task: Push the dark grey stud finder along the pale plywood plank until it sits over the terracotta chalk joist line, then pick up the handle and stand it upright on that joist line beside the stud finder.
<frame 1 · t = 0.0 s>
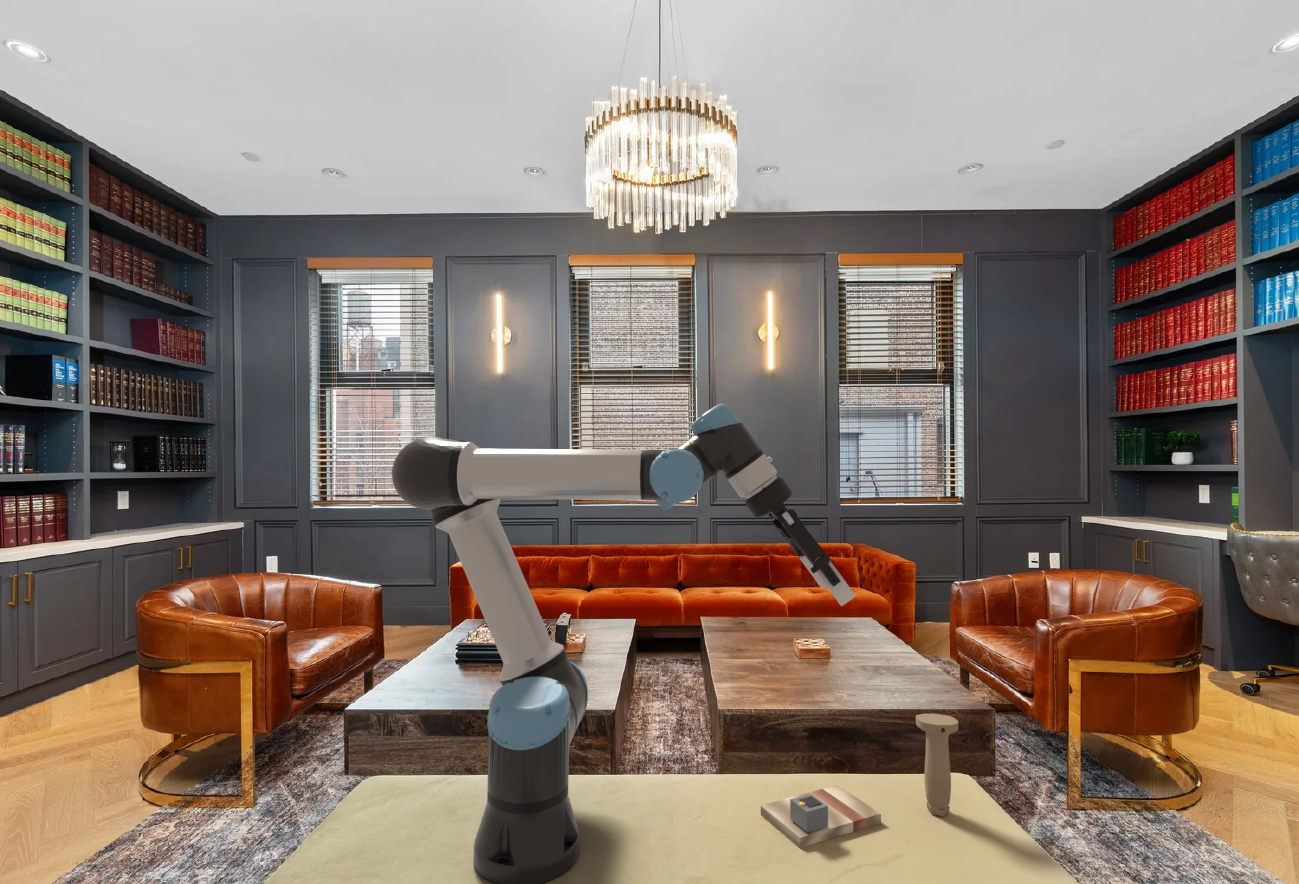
hand: (837, 592, 104), 36 cm above the table, tool tilted 35°, fingers open, 13 cm apart
handle: (938, 813, 104), on the table
finder: (808, 812, 97), point 3 cm above the table, slide at 0.0 cm
plank: (820, 818, 101), on the table
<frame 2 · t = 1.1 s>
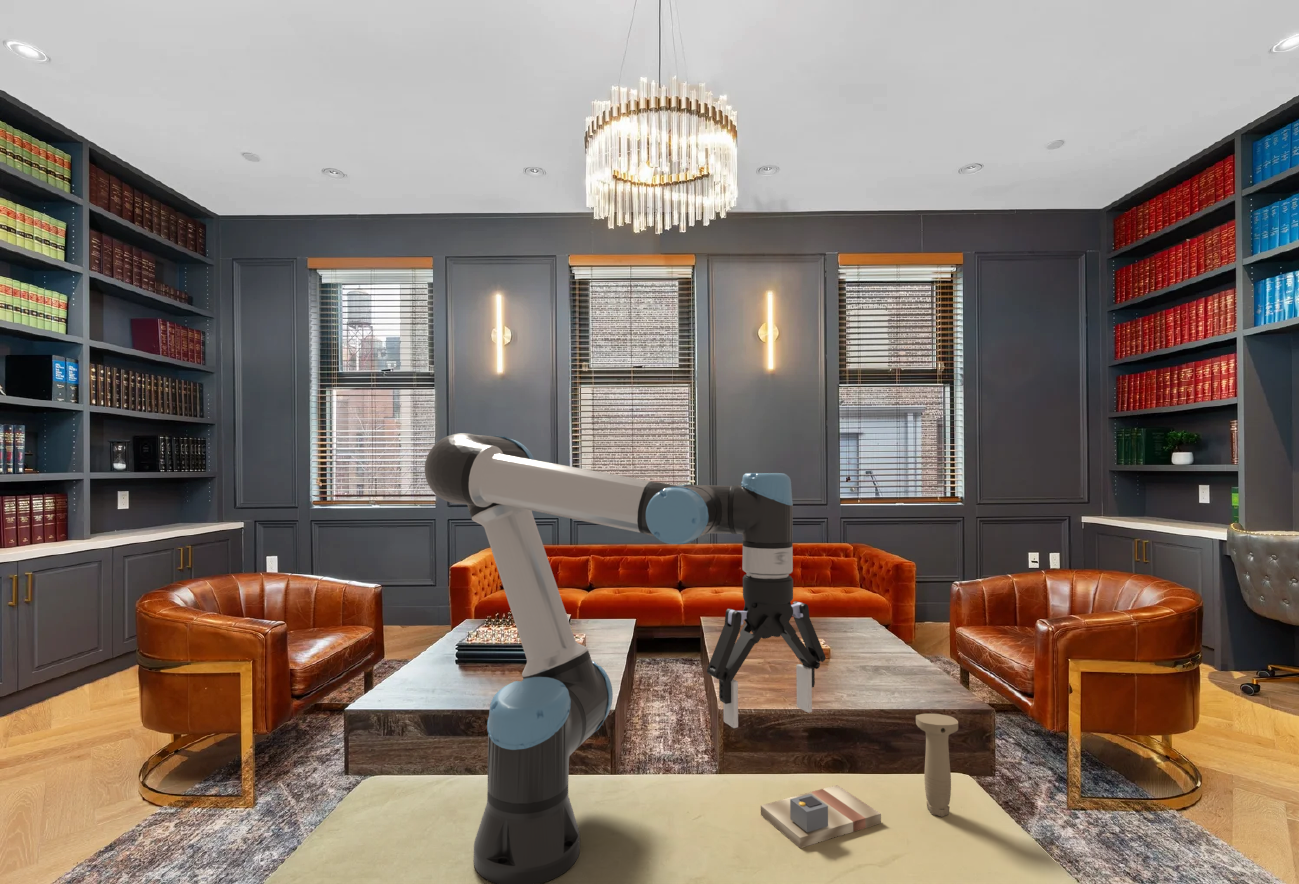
hand: (768, 716, 95), 19 cm above the table, tool pointing down, fingers open, 13 cm apart
nothing on the table moved.
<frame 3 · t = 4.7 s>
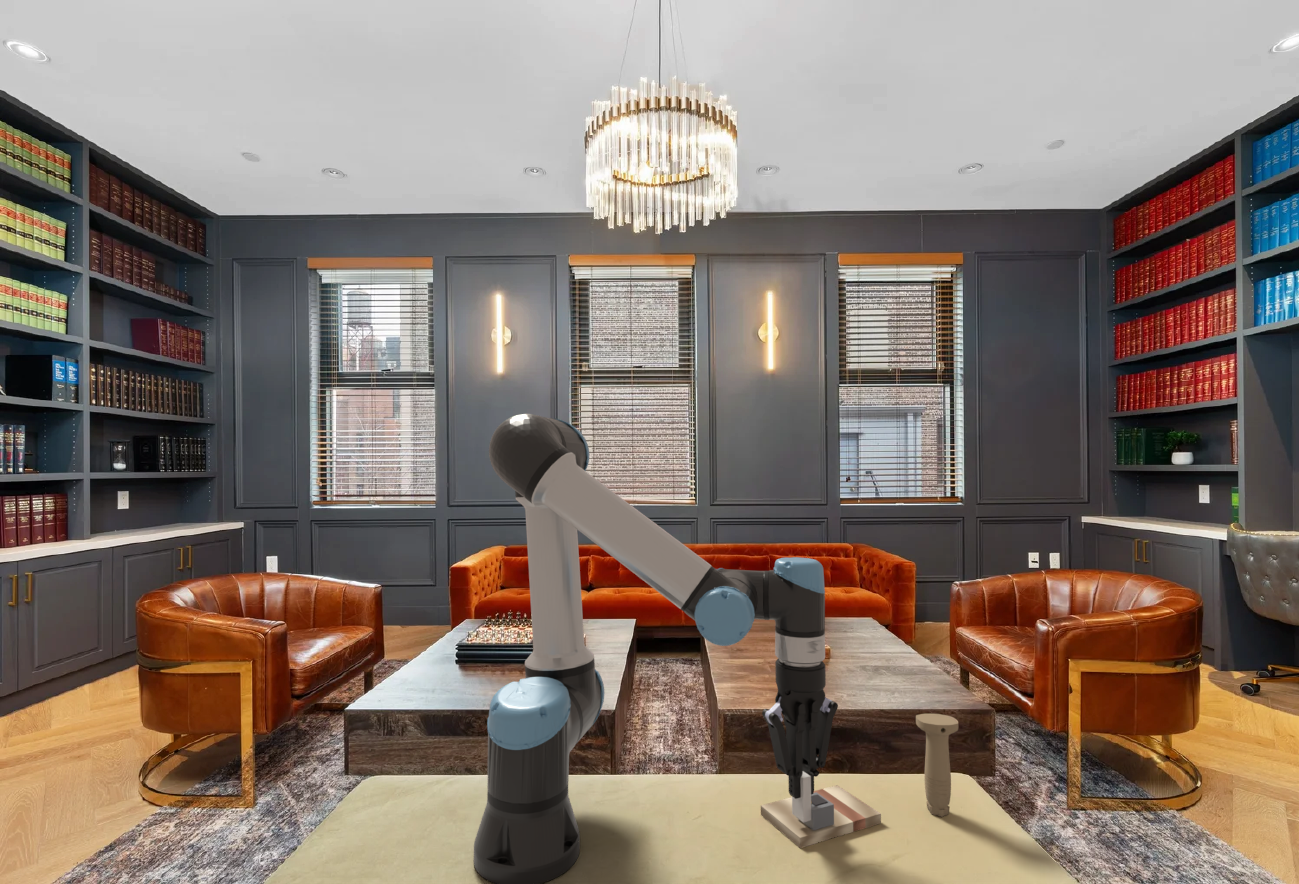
hand: (801, 816, 96), 3 cm above the table, tool pointing down, fingers closed
finder: (814, 810, 98), point 3 cm above the table, slide at 1.2 cm, touching gripper
everything else where it was.
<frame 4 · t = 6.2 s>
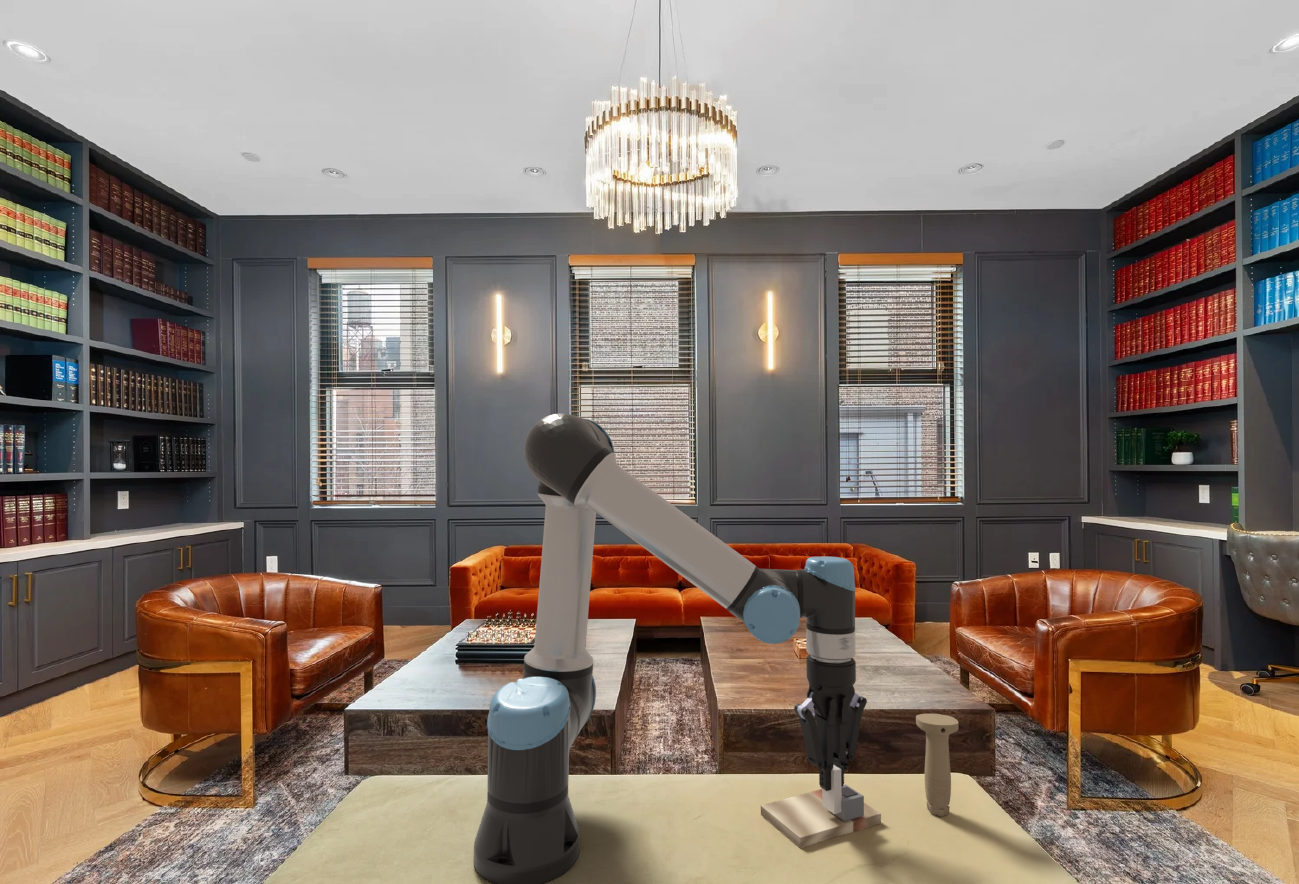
hand: (831, 808, 99), 3 cm above the table, tool pointing down, fingers closed
finder: (845, 801, 100), point 3 cm above the table, slide at 7.2 cm, touching gripper
everything else where it was.
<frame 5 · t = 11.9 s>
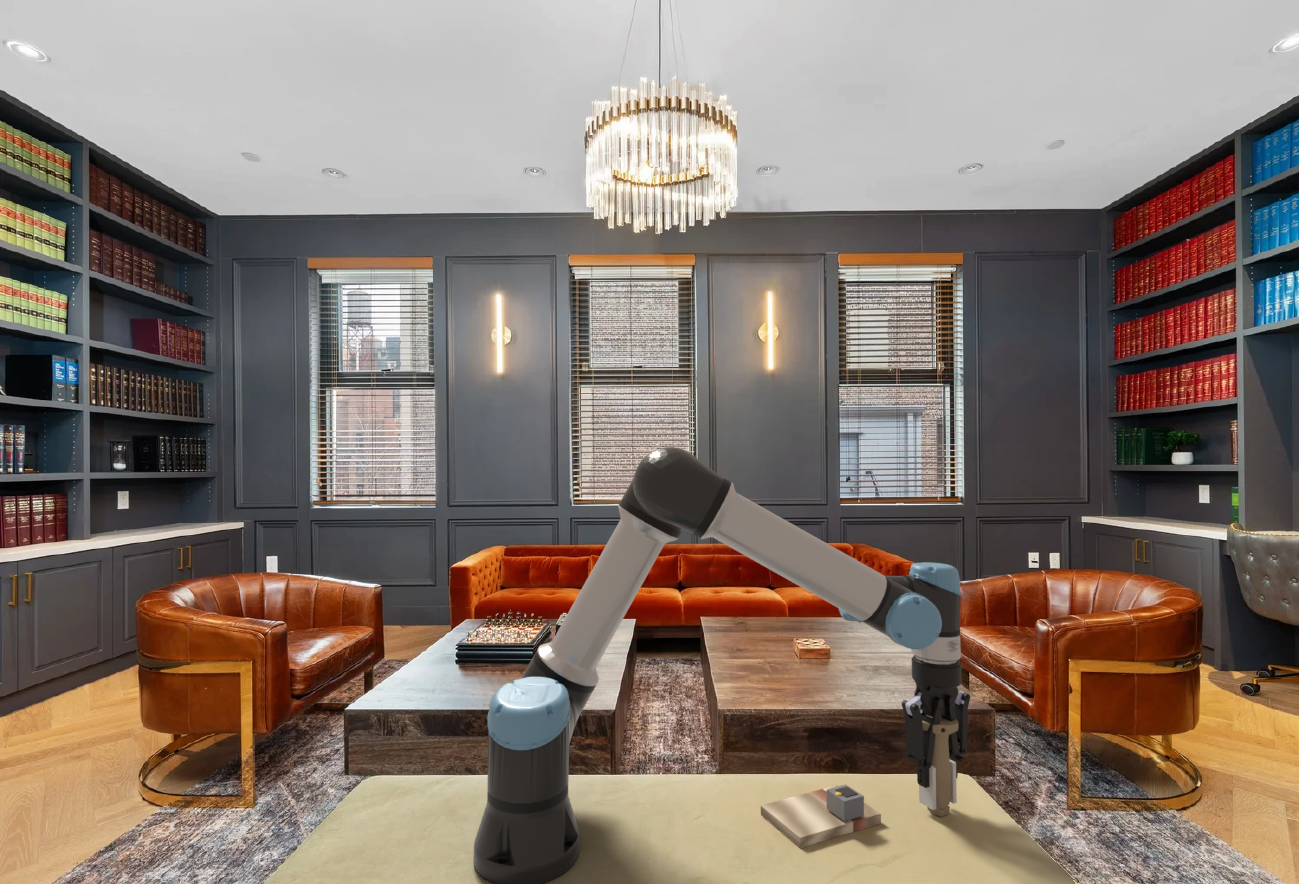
hand: (937, 801, 104), 2 cm above the table, tool pointing down, fingers closed on handle, 4 cm apart
handle: (938, 813, 104), on the table, touching gripper
finder: (845, 801, 100), point 3 cm above the table, slide at 7.2 cm
when the fingers open (5 cm above the table, at t = 18.1 s): handle drops 2 cm, resting on plank.
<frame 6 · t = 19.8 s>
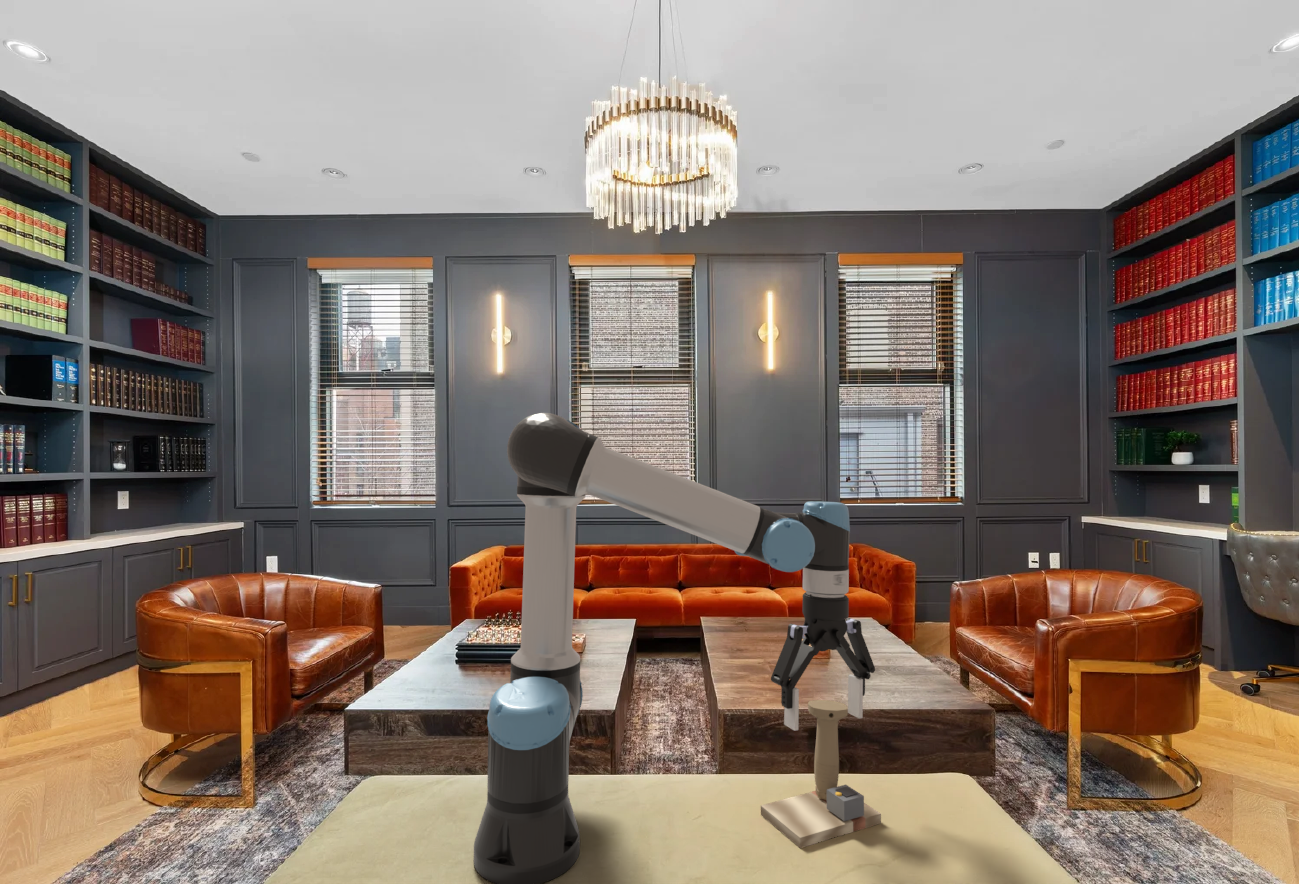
hand: (824, 721, 106), 14 cm above the table, tool pointing down, fingers open, 13 cm apart
handle: (825, 798, 105), point 1 cm above the table, touching plank
everything else where it was.
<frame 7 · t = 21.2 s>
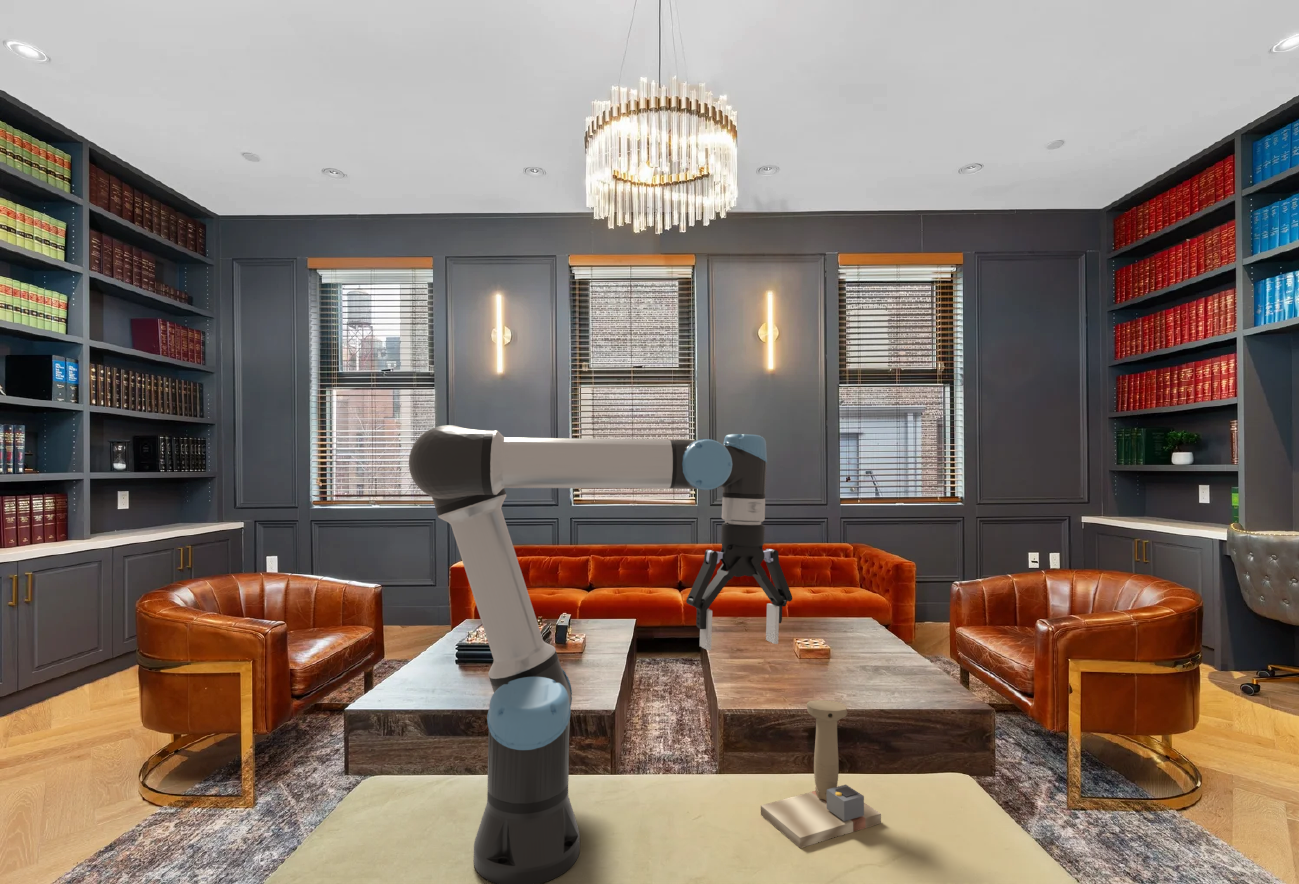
hand: (739, 645, 110), 25 cm above the table, tool pointing down, fingers open, 13 cm apart
nothing on the table moved.
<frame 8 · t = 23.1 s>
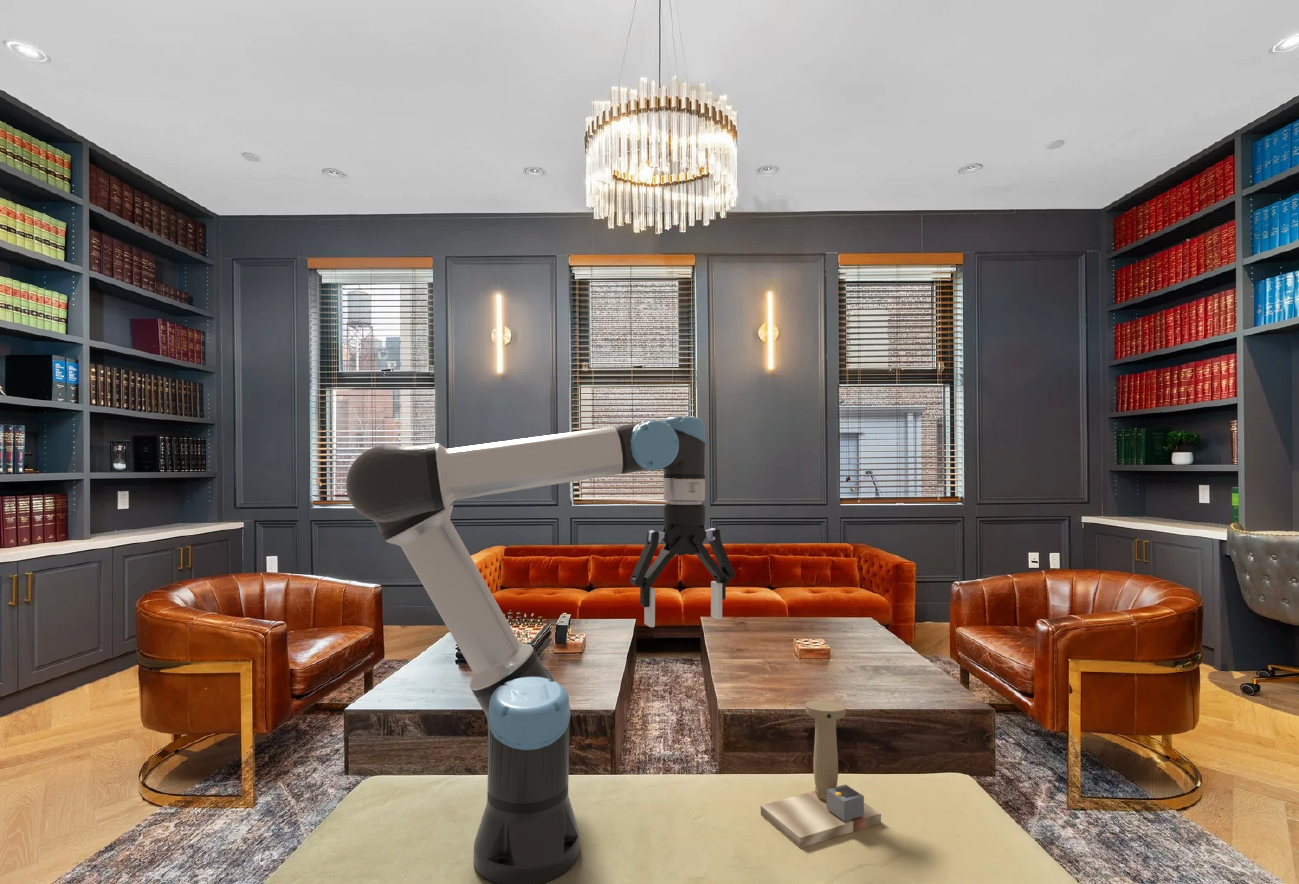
hand: (683, 621, 113), 29 cm above the table, tool pointing down, fingers open, 13 cm apart
nothing on the table moved.
at the end: finder slide at 7.2 cm; handle 0.2 cm from the target spot, point 1.3 cm above the table; handle tilted 0° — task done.
